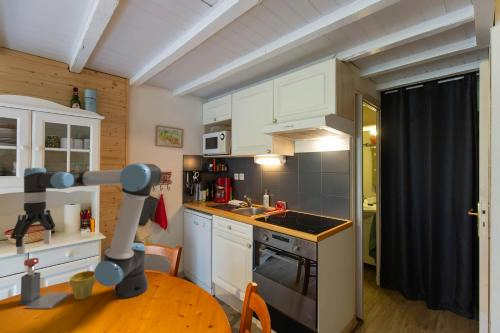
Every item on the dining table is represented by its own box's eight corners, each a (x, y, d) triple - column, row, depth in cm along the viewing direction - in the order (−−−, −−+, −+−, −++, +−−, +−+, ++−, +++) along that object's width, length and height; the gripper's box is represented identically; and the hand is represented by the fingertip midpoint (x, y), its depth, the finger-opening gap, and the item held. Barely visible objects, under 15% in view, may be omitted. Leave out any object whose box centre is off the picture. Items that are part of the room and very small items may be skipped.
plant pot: (82, 303, 107) (83, 281, 107) (63, 300, 109) (64, 278, 109) (101, 291, 117) (101, 271, 117) (83, 289, 119) (84, 269, 119)
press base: (70, 295, 113) (71, 269, 113) (51, 308, 102) (52, 280, 102) (35, 294, 113) (36, 269, 113) (12, 308, 102) (13, 280, 102)
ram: (40, 285, 110) (41, 258, 110) (31, 290, 105) (32, 262, 105) (30, 285, 110) (30, 257, 110) (20, 290, 105) (21, 261, 105)
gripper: (49, 198, 120) (48, 240, 120) (-2, 206, 95) (-3, 259, 95) (64, 198, 120) (64, 240, 120) (17, 205, 95) (17, 258, 95)
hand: (34, 248), depth 108 cm, fingers open, 13 cm apart
